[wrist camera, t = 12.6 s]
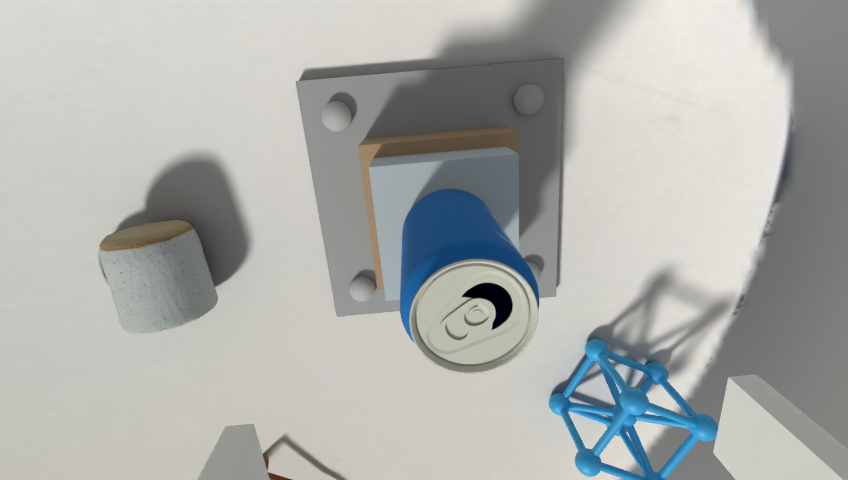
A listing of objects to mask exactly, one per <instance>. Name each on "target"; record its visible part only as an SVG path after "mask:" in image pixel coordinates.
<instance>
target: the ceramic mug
mask: <svg viewBox="0 0 848 480" xmlns="http://www.w3.org/2000/svg"><path fill="white" fill-rule="evenodd" d="M98 260H99V265H100V269H101V272H102V275H103V277H104V279H105V281H106V283H107V284H108V285H109V287H110V289H111V292H112V297H113V300H114V303H115V307H116V310H117V313H118V316H119V320H120V323H121V325H122V327H123V329H124V330H125V331H127V332H130V333H134V334H145V333H154V332H159V331H164V330H169V329H173V328H176V327H179V326H182V325H185V324H187V323H189V322H191V321H193V320H196V319H198V318H200V317H201V316H203V315H204V314H206V313H207V312H208V311H210V310H211V309H212V308H213V307H214V306H215V305H216V303H217V301H218V296H217V293H216V290H215V287H214V284H213V281H212V278H211V274H210V271H209V268H208V265H207V262H206V259H205V256H204V252H203V249H202V245H201V242H200V239H199V237H198V235H197V233H196V231H195V229H194V228H193V226H192V225H191V224H190V223H188V222H186V221H183V220H167V221H159V222H153V223H147V224H142V225H138V226H134V227H130V228H126V229H123V230H120V231H117V232H114V233H112V234H110V235H108V236H106V237H105V238H104V239H103V240H102V242H101V244H100V249H99V253H98Z"/></svg>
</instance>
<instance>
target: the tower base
mask: <svg viewBox="0 0 848 480" xmlns="http://www.w3.org/2000/svg"><path fill="white" fill-rule="evenodd" d="M562 84H563V58H557V59H545V60H534V61H522V62H511V63H499V64H488V65H476V66H465V67H453V68H442V69H430V70H418V71H407V72H395V73H384V74H372V75H361V76H349V77H338V78H326V79H315V80H303V81H296V87H297V93H298V98H299V104H300V110H301V115H302V121H303V127H304V132H305V138H306V144H307V150H308V155H309V161H310V167H311V172H312V178H313V184H314V189H315V195H316V201H317V206H318V212H319V218H320V223H321V229H322V235H323V241H324V246H325V252H326V258H327V263H328V269H329V275H330V280H331V286H332V292H333V297H334V303H335V309H336V314H337V317H338V316H349V315H360V314H371V313H382V312H392V311H400V286H401V255H402V230H403V225H404V221H405V219H406V216H407V214H408V213H409V211H410V209H411V208H412V207H413V206H414V205H415V204H416V203H417V202H418V201H419V200H420V199H422V198H423V197H424V196H426V195H428V194H430V193H433V192H435V191H439V190H444V189H457V190H463V191H466V192H469V193H471V194H473V195H475V196H477V197H478V198H479V199H481V200H482V201H483V202H484V203H485V204H486V205H487V207H488V208H489V209H490V211H491V212H492V214H493V215H494V217H495V218H496V220H497V221H498V222H499V224H500V225H501V227H502V228H503V230H504V231H505V233H506V234H507V235H508V237H509V238H510V240H511V241H512V243H513V244H514V246H515V247H516V248H517V250H518V251H519V253H520V254H521V256H522V257H523V259H524V260H525V262H526V263H527V264H528V266H529V267H530V269H531V270H532V272H533V274H534V276H535V279H536V282H537V285H538V291H539V298H545V297H556V280H557V247H558V215H559V182H560V149H561V117H562Z"/></svg>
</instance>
